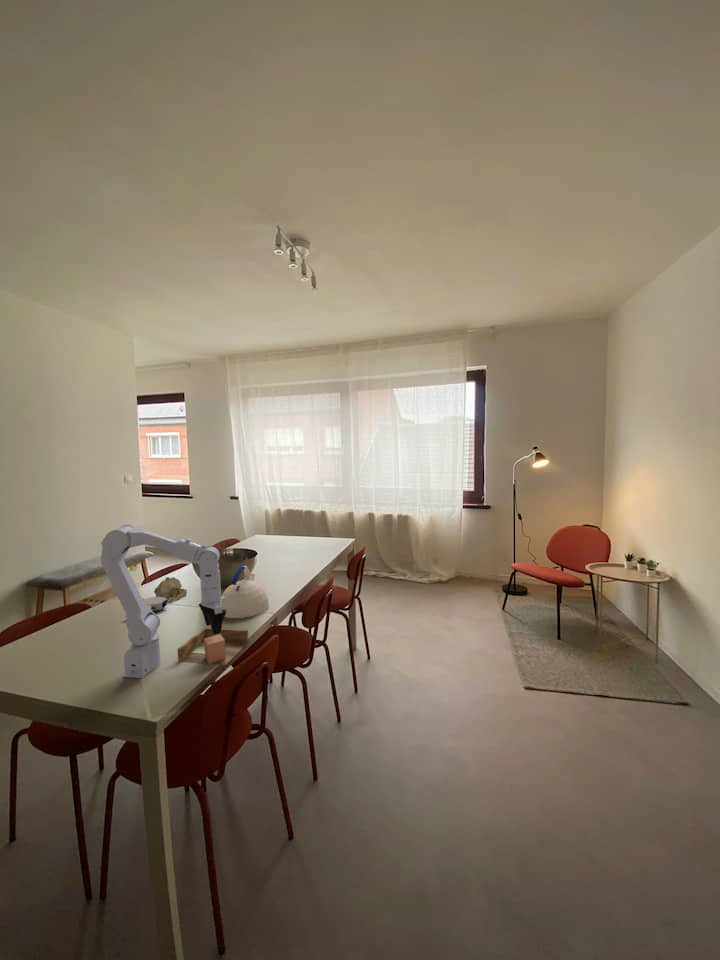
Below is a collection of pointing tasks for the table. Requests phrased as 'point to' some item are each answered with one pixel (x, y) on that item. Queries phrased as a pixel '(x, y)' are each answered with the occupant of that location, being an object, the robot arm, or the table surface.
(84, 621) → the table surface
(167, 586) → the ceramic model
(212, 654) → the cube
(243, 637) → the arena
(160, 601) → the robot toy
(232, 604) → the kettle
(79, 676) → the table surface
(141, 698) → the table surface
